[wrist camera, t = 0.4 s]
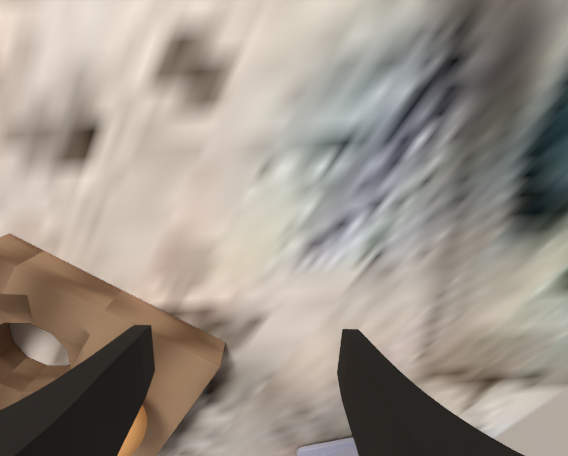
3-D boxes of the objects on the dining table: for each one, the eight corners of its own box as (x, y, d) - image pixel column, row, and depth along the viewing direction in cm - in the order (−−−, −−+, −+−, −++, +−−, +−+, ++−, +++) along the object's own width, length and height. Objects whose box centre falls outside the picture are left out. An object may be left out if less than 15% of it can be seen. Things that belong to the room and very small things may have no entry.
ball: (163, 418, 23) (141, 478, 19) (109, 429, 23) (76, 490, 19) (144, 374, 21) (116, 428, 17) (87, 385, 21) (47, 442, 18)
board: (225, 342, 24) (220, 366, 21) (153, 444, 27) (141, 476, 24) (9, 233, 20) (-26, 247, 18) (-47, 363, 23) (-83, 390, 21)
